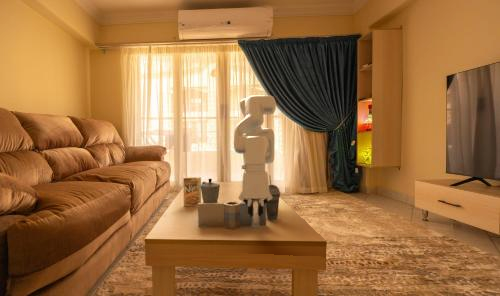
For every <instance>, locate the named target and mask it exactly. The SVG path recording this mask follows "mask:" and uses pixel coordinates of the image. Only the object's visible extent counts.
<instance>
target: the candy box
mask: <svg viewBox="0 0 500 296" xmlns="http://www.w3.org/2000/svg"><path fill="white" fill-rule="evenodd" d="M182 181H183V206H184V207H198V203H202V192H201V185H202V177H199V176H196V177H193V176H189V177H187V176H185V177H183V180H182Z"/></svg>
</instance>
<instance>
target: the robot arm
mask: <svg viewBox="0 0 500 296" xmlns="http://www.w3.org/2000/svg"><path fill="white" fill-rule="evenodd" d="M276 104H277V103H276V100H275V97H274V96H272V95H266V94H264V95H261V94H260V95H257V94H256V95H250V96H248V97H246V98H242V99H241V100H240V102H239V107H240V110H241V113H242V115H243V117H244V118H243V119H242V120H241V121H240V122H239V123H238V124H237V125H236V127H235V129H234V133H233V134H234V135H233V150H234V151H235V152H236V153H237V154H242V156H243V163H244V165H241V170H244V171H243V174H242V181H241V182H242V185H241V188H242V190H241V191H240V193H239V195H238V200H239V201H241V203H246V204H247V205H248V214H250V217H251V216H252V205H251V203H252V199H259V203H260V204H259V216H260V217H261V214H263V206H264V204H265V203H266V202H267V201H269V200H271V199H272V198H273V197H272V195H271V194H270V192H269V185H270V180H269V174H268V171H267V170H266V165H267V164H272V163H273V162H274V160H275V143H276V142H275V140H276V139H275V132H274V129H272V128H270V127H262V125H263V124H264V121H265V120H264V115H273V114H274V113H275V112H276V107H277V105H276Z"/></svg>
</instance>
